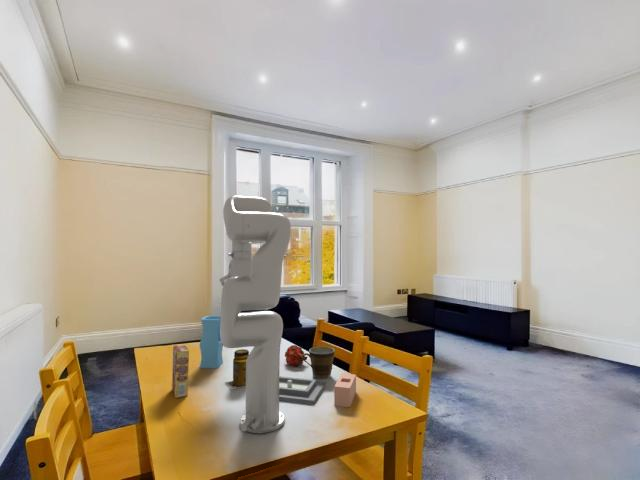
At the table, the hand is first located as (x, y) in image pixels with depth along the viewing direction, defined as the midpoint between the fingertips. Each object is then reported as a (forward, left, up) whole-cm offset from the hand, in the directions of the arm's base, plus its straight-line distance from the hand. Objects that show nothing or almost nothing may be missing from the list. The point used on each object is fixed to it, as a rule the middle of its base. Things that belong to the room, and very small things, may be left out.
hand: (241, 299), depth 140 cm
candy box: (-21, +12, -30) cm, 38 cm away
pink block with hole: (-11, -44, -29) cm, 54 cm away
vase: (+7, +17, -30) cm, 35 cm away
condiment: (-9, -4, -30) cm, 31 cm away
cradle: (-10, -24, -29) cm, 39 cm away
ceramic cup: (+6, -30, -30) cm, 42 cm away
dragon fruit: (+17, -17, -30) cm, 38 cm away
